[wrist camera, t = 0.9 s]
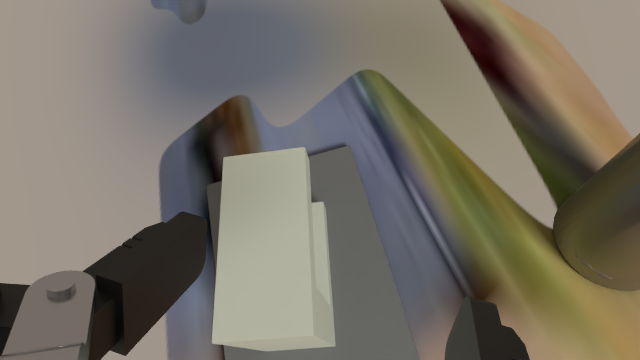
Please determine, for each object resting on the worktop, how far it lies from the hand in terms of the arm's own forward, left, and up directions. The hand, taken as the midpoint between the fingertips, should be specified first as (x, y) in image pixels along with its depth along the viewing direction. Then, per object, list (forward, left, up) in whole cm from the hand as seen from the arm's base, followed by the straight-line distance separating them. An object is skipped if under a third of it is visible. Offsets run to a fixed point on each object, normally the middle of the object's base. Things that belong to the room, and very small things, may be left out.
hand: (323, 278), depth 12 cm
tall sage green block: (+2, -7, -23) cm, 25 cm away
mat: (+1, -8, -24) cm, 26 cm away
